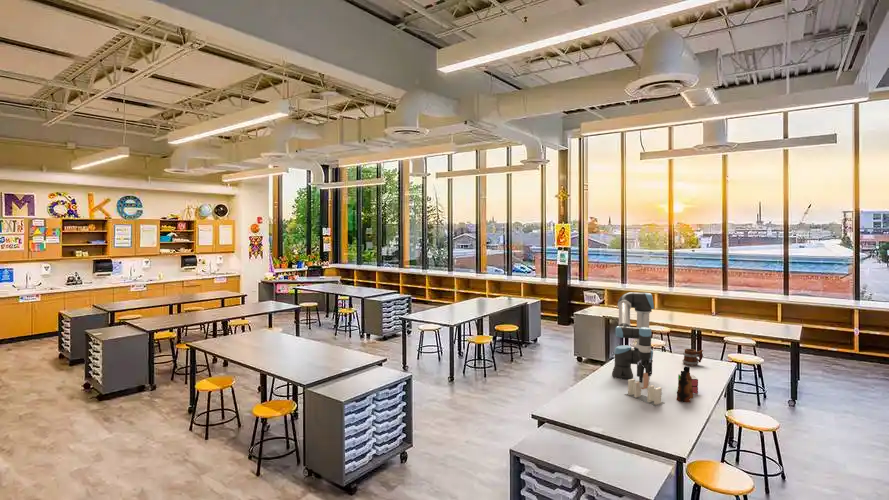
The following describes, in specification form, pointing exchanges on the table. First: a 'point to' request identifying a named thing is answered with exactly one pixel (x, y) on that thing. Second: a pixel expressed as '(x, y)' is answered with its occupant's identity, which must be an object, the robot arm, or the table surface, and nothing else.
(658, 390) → the domino
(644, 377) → the domino gap
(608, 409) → the table surface
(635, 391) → the domino
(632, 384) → the domino
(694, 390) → the puzzle cube
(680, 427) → the table surface
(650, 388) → the domino
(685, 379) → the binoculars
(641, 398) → the mat
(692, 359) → the mug
